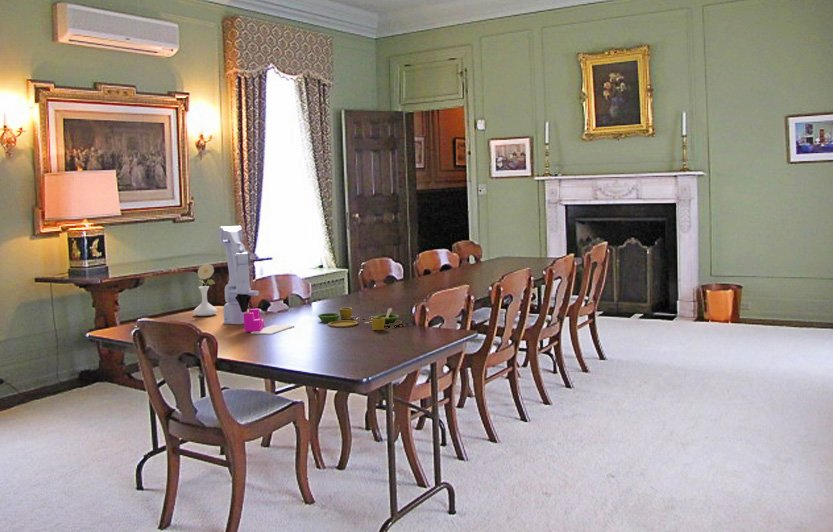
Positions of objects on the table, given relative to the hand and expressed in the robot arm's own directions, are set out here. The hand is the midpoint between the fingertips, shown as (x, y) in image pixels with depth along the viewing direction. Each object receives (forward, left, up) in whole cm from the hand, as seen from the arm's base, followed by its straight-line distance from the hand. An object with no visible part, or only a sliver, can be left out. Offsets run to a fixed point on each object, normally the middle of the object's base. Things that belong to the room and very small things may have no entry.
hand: (244, 311), depth 349 cm
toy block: (+6, 0, -7) cm, 9 cm away
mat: (+14, 0, -7) cm, 16 cm away
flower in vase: (-38, +24, -7) cm, 46 cm away
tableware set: (+44, +24, -8) cm, 51 cm away
